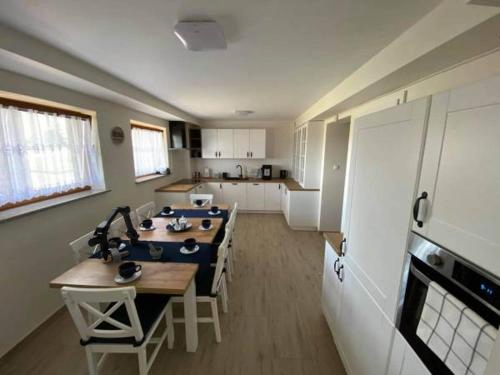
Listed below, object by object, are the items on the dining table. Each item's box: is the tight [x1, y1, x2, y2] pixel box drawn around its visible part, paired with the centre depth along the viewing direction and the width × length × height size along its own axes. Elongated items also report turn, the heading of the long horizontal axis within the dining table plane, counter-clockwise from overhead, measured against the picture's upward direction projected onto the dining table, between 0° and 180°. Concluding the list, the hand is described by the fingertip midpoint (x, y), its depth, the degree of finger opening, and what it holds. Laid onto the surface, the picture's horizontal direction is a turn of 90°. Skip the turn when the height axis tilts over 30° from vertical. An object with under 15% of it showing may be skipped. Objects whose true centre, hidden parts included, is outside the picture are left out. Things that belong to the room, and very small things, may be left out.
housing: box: [108, 247, 122, 264], centre depth 169 cm, size 5×16×6 cm, turn 43°
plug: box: [100, 250, 130, 264], centre depth 169 cm, size 19×4×4 cm, turn 134°
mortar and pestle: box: [148, 242, 164, 260], centre depth 171 cm, size 11×9×12 cm
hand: (105, 259), depth 165 cm, fingers closed on plug, 4 cm apart
